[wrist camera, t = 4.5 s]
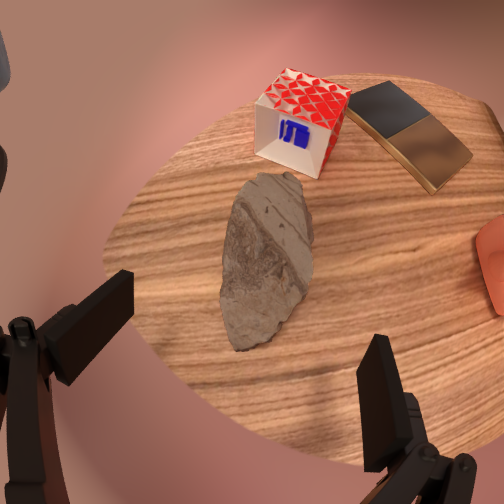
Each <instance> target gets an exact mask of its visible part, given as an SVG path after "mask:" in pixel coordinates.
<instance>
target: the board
mask: <svg viewBox="0 0 504 504" xmlns="http://www.w3.org/2000/svg"><path fill="white" fill-rule="evenodd" d="M345 114H346V115H347V116H348V117H350V118H351V119H352V120H353V121H354V122H356V123H357V124H358V125H359V126H360V127H361V128H363V129H364V130H365V131H366V132H367V133H368V134H369V135H371V136H372V137H373V138H374V139H375V140H376V141H377V142H378V143H379V144H381V145H382V146H383V147H384V148H385V149H386V150H387V151H388V152H389V153H390V154H391V155H392V156H393V157H394V158H395V159H396V160H397V161H399V162H400V163H401V164H402V165H403V166H404V167H405V168H406V169H407V170H408V171H409V172H410V173H411V174H412V175H413V177H414V178H415V179H416V180H417V181H418V182H419V183H420V184H421V185H422V186H423V187H424V188H425V189H426V190H427V191H428V192H429V193H430V195H431V196H432V195H433V194H435V193H436V192H437V191H438V190H439V189H440V188H441V187H442V186H443V185H444V184H445V183H446V182H447V181H449V180H450V179H451V178H452V177H453V176H454V175H455V174H456V173H457V172H458V171H459V170H460V169H461V168H462V167H463V166H464V165H465V164H466V163H467V162H468V161H469V160H470V159H471V158H472V157H473V154H472V153H471V152H470V151H469V149H468V148H467V147H466V146H465V145H464V144H463V143H462V142H461V141H460V140H459V139H458V138H457V137H455V136H454V135H453V134H452V133H451V132H450V131H449V130H448V129H447V128H446V127H445V126H444V125H443V124H442V123H441V122H439V121H438V120H437V119H436V118H435V117H434V116H433V115H431V114H430V113H429V112H428V111H427V110H426V109H425V108H423V107H422V106H421V105H420V104H419V103H417V102H416V101H415V100H414V99H413V98H411V97H410V96H409V95H408V94H406V93H405V92H404V91H402V90H401V89H400V88H399V87H397V86H396V85H395V84H393V83H392V82H391V81H386V82H383V83H381V84H378V85H375V86H372V87H370V88H367V89H364V90H362V91H359V92H356V93H354V94H351V96H350V99H349V102H348V106H347V109H346V113H345Z"/></svg>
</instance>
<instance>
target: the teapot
mask: <svg viewBox="0 0 504 504" xmlns="http://www.w3.org/2000/svg"><path fill="white" fill-rule="evenodd" d="M476 248H477V252H478V257H479V261H480V265H481V269H482V273H483V277H484V280H485V283H486V286H487V289H488V292H489V295H490V298H491V301H492V304H493V306H494V309H495V311H496V312H497V314H498V315H504V214H503V215H501V216H499V217H497V218H495V219H494V220H492V221H490V222H489V223H487V224H486V225H485V226H483V227H482V228H481V229H480V231H479V233H478V235H477V237H476Z"/></svg>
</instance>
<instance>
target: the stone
mask: <svg viewBox="0 0 504 504" xmlns="http://www.w3.org/2000/svg"><path fill="white" fill-rule="evenodd" d="M256 176H257V177H256V180H249V181H247V182H246V183H245V184H244V186H243V187H242V189H241V190H240V191H239V192H238V194H237V195H236V198H235V201H234V202H233V206H232V211H231V216H230V219H229V221H228V226H227V231H226V237H225V241H224V250H223V256H222V263H223V283H222V286H221V289H220V301H219V302H220V307H221V309H222V312H223V313H222V315H223V319H224V324H225V327H226V330H227V334H228V338H229V341H230V342H231V343H232V345H233V348H234V350H235V351H236V352H238V351H242V352H244V351H249V349H251V348H255V347H256V346H257V345H258V344H259V343H263V342H271V341H272V337H273V335H275V334H276V332H277V331H279V330H280V329H281V327H282V323H283V321H286V320H287V319H288V317H289V315H290V314H291V312H292V310H293V308H294V307H295V305H296V304H297V303H299V302H301V301H302V300H304V299H305V297H306V295H307V293H308V283H309V282H310V281H311V279H312V274H313V257H312V254H311V243H312V242H313V241H314V233H313V228H312V216H311V214H310V213H309V212H308V210H307V206H306V204H305V200H304V196H303V191H302V190H303V189H302V184H301V182H300V180H298V179H297V178H296V177H294V176H293V175H292V174H290V173H289V172H284V173H283V174H281V175H277V174H269V173H258V174H257V175H256Z"/></svg>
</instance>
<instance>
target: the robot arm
mask: <svg viewBox="0 0 504 504" xmlns="http://www.w3.org/2000/svg"><path fill="white" fill-rule="evenodd" d="M9 80H10V66H9V61H8V57H7V52H6V49H5V45H4V41H3V38H2V35H1V32H0V92H1V91H2V90H3V89H4V88H5V87H6V86H7V85H8V83H9ZM133 315H134V273H133V272H130V271H126V270H123V269H122V270H120V271H119V272H118V273H117V274H115V275H114V276H113V277H112V278H110V279H109V280H108V281H106V282H105V283H104V284H103V285H101V286H100V287H99V288H98V289H96V290H95V291H94V292H93V293H91V294H90V295H89V296H88V297H87V298H85V299H84V300H83V301H82V302H80V303H79V304H78V305H77V306H76V305H74V304H71V305H68V306H66V307H63V308H62V309H61V310H60V311H59V312H57V314H55V315H54V316H53V317H52V318H50V319H49V320H48V321H46V322H45V323H44V324H43V325H42V326H40V327H39V328H38V329H37V330H36V329H35V326H34V322H33V320H32V319H31V318H28V317H17V318H15V319H13V320H12V321H11V322H10V323H9V325H8V329H9V332H10V335H11V336H10V335H6V334H4V332H3V329H2V327H1V326H0V430H1V426H2V422H3V418H4V414H5V411H6V407H7V453H8V467H9V477H10V480H9V482H8V483H6V484H5V498H6V504H70V502H69V498H68V494H67V490H66V486H65V482H64V477H63V472H62V468H61V462H60V457H59V452H58V445H57V438H56V431H55V424H54V413H53V403H52V389H51V379H50V375H51V374H52V372H53V371H54V372H55V376H56V378H57V380H58V381H60V382H62V383H64V384H65V385H67V386H70V385H71V384H72V383H73V381H74V380H75V379H76V378H77V377H78V375H80V373H81V372H82V371H83V370H84V369H85V368H86V367H87V365H88V364H89V363H90V362H91V361H92V360H93V359H94V358H95V356H96V355H97V354H98V353H99V352H100V351H101V350H102V349H103V347H104V346H105V345H106V344H107V343H108V342H109V341H110V340H111V339H112V338H113V336H114V335H115V334H116V333H117V332H118V331H119V330H120V329H121V328H122V326H124V324H125V323H126V322H127V321H128V320H129V319H130V318H131V317H132V316H133ZM356 375H357V384H358V393H359V403H360V414H361V426H362V439H363V455H364V472H377V473H380V472H381V471H382V470H383V469H384V468H386V467H387V471H388V474H387V475H386V476H384V477H383V478H382V479H381V480H380V481H379V482H378V483H377V486H376V487H375V488H374V489H373V490H372V491H371V492H370V493H369V494H368V495H367V496H366V497H365V499H364V500H363V501H362V502H361V503H360V504H411V503H412V502H413V500H414V499H415V498H416V496H417V495H418V497H417V500H416V503H415V504H470V503H471V498H472V493H473V488H474V483H475V477H476V471H477V464H476V462H475V460H474V458H473V457H472V456H470V455H469V454H466V453H462V454H459V455H458V456H456V457H455V458H454V459H452V458H448V457H445V456H441V455H439V451H438V449H437V448H436V447H435V446H434V445H433V444H431V443H429V442H428V439H427V434H426V430H425V426H424V422H423V418H422V414H421V411H420V407H419V403H418V401H417V399H416V398H415V396H414V395H413V394H412V393H407V392H403V388H402V384H401V380H400V377H399V373H398V369H397V366H396V362H395V359H394V355H393V352H392V348H391V345H390V342H389V338H388V336H385V335H380V334H374V337H373V339H372V341H371V343H370V345H369V347H368V349H367V351H366V353H365V355H364V357H363V359H362V361H361V363H360V365H359V367H358V369H357V371H356Z"/></svg>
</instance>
